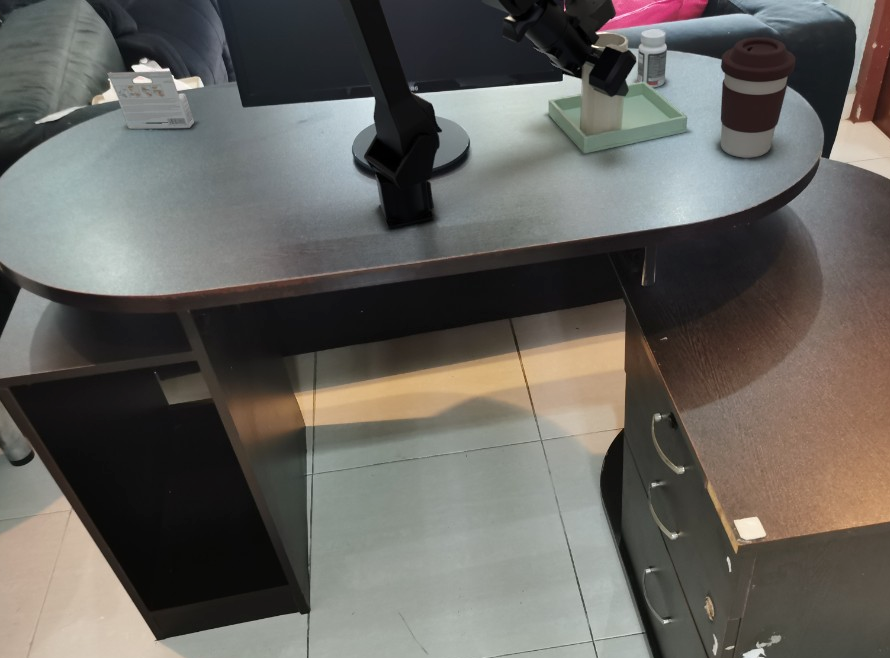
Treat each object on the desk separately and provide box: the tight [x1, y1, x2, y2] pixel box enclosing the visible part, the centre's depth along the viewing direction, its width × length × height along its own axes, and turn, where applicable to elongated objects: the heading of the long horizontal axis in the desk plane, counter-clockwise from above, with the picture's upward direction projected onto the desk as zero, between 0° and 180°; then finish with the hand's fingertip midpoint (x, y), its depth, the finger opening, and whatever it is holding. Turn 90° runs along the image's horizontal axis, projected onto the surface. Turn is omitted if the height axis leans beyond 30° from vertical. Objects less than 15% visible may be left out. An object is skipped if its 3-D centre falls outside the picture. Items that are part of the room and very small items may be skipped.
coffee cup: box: [720, 36, 796, 159], centre depth 119 cm, size 10×10×15 cm
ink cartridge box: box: [106, 70, 195, 130], centre depth 138 cm, size 2×11×10 cm, turn 85°
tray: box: [548, 81, 688, 154], centre depth 132 cm, size 17×15×2 cm
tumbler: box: [580, 31, 629, 136], centre depth 125 cm, size 6×6×14 cm
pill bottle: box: [636, 28, 668, 89], centre depth 141 cm, size 5×5×8 cm
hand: (608, 85), depth 125 cm, fingers open, 8 cm apart
